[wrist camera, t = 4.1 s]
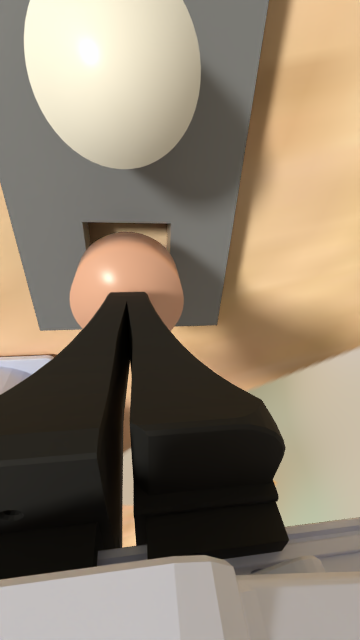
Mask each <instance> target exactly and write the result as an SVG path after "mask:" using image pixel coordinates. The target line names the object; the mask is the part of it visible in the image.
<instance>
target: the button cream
mask: <svg viewBox="0 0 360 640" xmlns="http://www.w3.org/2000/svg"><path fill="white" fill-rule="evenodd" d="M24 54H25V62H26V68H27V73H28V77H29V81H30V84H31V87H32V90H33V93H34V96H35V98H36V100H37V102H38V105H39V107H40V109H41V111H42V113H43V114H44V116H45V118H46V119H47V121H48V123H49V124H50V125H51V127H52V128H53V129H54V131H55V132H56V133H57V134H58V135H59V137H60V138H61V139H62V140H63V141H64V142H65V143H66V144H67V145H68V146H69V147H71V148H72V149H73V150H74V151H76V152H77V153H78V154H80V155H81V156H83V157H84V158H86V159H88V160H90V161H92V162H94V163H96V164H99V165H101V166H105V167H109V168H115V169H134V168H140V167H143V166H146V165H149V164H151V163H153V162H155V161H157V160H159V159H160V158H162V157H163V156H165V155H166V154H167V153H168V152H169V151H171V150H172V149H173V148H174V147H175V145H176V144H177V143H178V142H179V141H180V139H181V138H182V136H183V135H184V133H185V132H186V130H187V128H188V126H189V124H190V122H191V120H192V117H193V115H194V112H195V109H196V105H197V101H198V97H199V90H200V82H201V63H200V51H199V46H198V40H197V36H196V32H195V29H194V25H193V22H192V20H191V17H190V14H189V12H188V9H187V7H186V5H185V4H184V2H183V0H30V2H29V5H28V9H27V14H26V19H25V28H24Z"/></svg>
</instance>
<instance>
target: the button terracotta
mask: <svg viewBox="0 0 360 640" xmlns="http://www.w3.org/2000/svg"><path fill="white" fill-rule="evenodd" d="M110 292H146V293H147V294H148V297H149V299H150V301H151V303H152V305H153V307H154V309H155V310H156V312H157V314H158V315H159V317H160V318H161V319H162V321H163V322H164V324H165V325H166V326H167V328H168V329H169V330H170V331H171V330H172V328H173V327H174V326H175V325H176V323H177V322H178V320H179V318H180V316H181V313H182V310H183V305H184V296H183V290H182V286H181V283H180V279H179V275H178V271H177V268H176V265H175V262H174V260H173V258H172V256H171V255H170V253H169V252H168V251H167V250H166V248H165V247H164V246H162V245H161V244H160V243H159V242H157V241H156V240H154V239H152V238H150V237H148V236H146V235H143V234H139V233H134V232H118V233H113V234H109V235H106V236H104V237H102V238H100V239H98V240H97V241H95V242H94V243H93V244H92V245H90V246H89V247H88V249H87V250H86V251H85V252H84V254H83V256H82V257H81V260H80V262H79V265H78V268H77V271H76V274H75V277H74V280H73V283H72V286H71V290H70V307H71V310H72V313H73V316H74V318H75V319H76V321H77V323H78V324H79V325H80V326H81V328H82V329H83V328H84V327H85V326H86V325H87V324H88V323H89V321H90V320H91V319H92V317H93V316H94V315H95V313H96V312H97V311H98V309H99V308H100V306H101V305H102V303H103V302H104V300H105V299H106V297H107V295H108V294H109V293H110Z"/></svg>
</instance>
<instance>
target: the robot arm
mask: <svg viewBox="0 0 360 640" xmlns="http://www.w3.org/2000/svg"><path fill="white" fill-rule="evenodd" d="M130 363H131V372H132V386H131V407H130V435H131V450H132V465H133V478H134V479H133V480H134V519H135V533H136V546H132V547H124V548H122V485H123V484H122V483H123V482H122V481H123V480H122V479H123V473H122V472H123V420H124V408H125V399H126V391H127V382H128V374H129V365H130ZM284 452H285V445H284V440H283V438H282V436H281V434H280V431H279V429H278V427H277V425H276V423H275V421H274V420H273V418H272V416H271V414H270V413H269V411H268V409H267V408H266V406H265V405H264V403H263V401H262V400H261V399H259V398H257V397H255V396H253V395H251V394H250V393H248V392H246V391H244V390H242V389H240V388H239V387H237V386H235V385H233V384H231V383H230V382H228V381H227V380H225V379H224V378H222V377H221V376H219V375H218V374H216V373H215V372H213V371H212V370H211V369H209V368H208V367H207V366H205V365H204V364H203V363H202V362H200V361H199V360H198V359H197V358H195V357H194V356H193V355H192V354H191V353H190V352H189V351H188V350H187V349H186V348H185V347H184V346H183V345H182V344H181V343H180V342H179V341H178V340H177V339H176V338H175V336H174V335H173V334H172V333H171V332H170V330H169V329H168V328H167V326H166V325H165V324H164V322H163V321H162V319H161V318H160V317H159V315H158V314H157V312H156V310H155V309H154V307H153V305H152V303H151V301H150V299H149V297H148V294H147V293H146V292H110V293H109V294H108V295H107V297H106V299H105V300H104V302H103V303H102V305H101V306H100V308H99V309H98V311H97V312H96V313H95V315H94V316H93V317H92V319H91V320H90V321H89V323H88V324H87V325H86V326H85V327H84V328H83V330H82V331H81V332H80V333H79V334H78V335H77V336H76V337H75V338H74V339H73V341H72V342H71V343H70V344H69V345H67V346H66V347H65V348H64V349H63V350H62V351H61V352H60V353H59V354H58V355H57V356H55V357H53V356H51V355H39V356H15V357H0V640H360V517H359V518H352V519H343V520H335V521H327V522H319V523H312V524H305V525H296V526H288V527H284V524H283V521H282V518H281V515H280V513H279V510H278V507H277V504H276V501H278V493H277V490H276V487H275V485H274V482H273V478H274V475H275V473H276V471H277V469H278V467H279V464H280V463H281V461H282V458H283V456H284Z"/></svg>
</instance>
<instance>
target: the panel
mask: <svg viewBox="0 0 360 640" xmlns="http://www.w3.org/2000/svg"><path fill="white" fill-rule="evenodd" d="M29 2H30V0H0V183H1V187H2V190H3V194H4V198H5V202H6V205H7V209H8V213H9V216H10V220H11V224H12V228H13V231H14V235H15V239H16V242H17V246H18V250H19V254H20V257H21V261H22V265H23V268H24V272H25V276H26V280H27V283H28V287H29V291H30V294H31V298H32V302H33V306H34V309H35V313H36V317H37V321H38V324H39V328H40V331H43V330H75V329H82V328H81V326H80V325H79V324H78V323H77V321H76V319H75V318H74V316H73V313H72V310H71V307H70V290H71V286H72V283H73V280H74V277H75V274H76V271H77V268H78V265H79V262H80V260H81V257H82V256H83V254H84V252H85V251H86V250H87V249H88V247H89V246H90V245H91V244H90V235H89V227H88V222H111V223H167V251H168V252H169V253H170V255H171V256H172V258H173V260H174V262H175V265H176V268H177V271H178V275H179V279H180V283H181V286H182V290H183V296H184V305H183V310H182V313H181V316H180V318H179V320H178V322H177V323H176V325H175V326H204V325H217V322H218V316H219V310H220V303H221V297H222V291H223V285H224V278H225V272H226V266H227V260H228V253H229V247H230V241H231V235H232V228H233V222H234V216H235V210H236V203H237V197H238V191H239V185H240V178H241V172H242V166H243V159H244V153H245V147H246V141H247V134H248V128H249V122H250V116H251V109H252V103H253V97H254V91H255V84H256V78H257V72H258V66H259V59H260V53H261V47H262V41H263V34H264V28H265V22H266V16H267V9H268V3H269V0H183V2H184V4H185V5H186V7H187V9H188V12H189V14H190V17H191V20H192V22H193V25H194V29H195V32H196V36H197V40H198V46H199V51H200V63H201V82H200V90H199V97H198V101H197V105H196V109H195V112H194V115H193V117H192V120H191V122H190V124H189V126H188V128H187V130H186V132H185V133H184V135H183V136H182V138H181V139H180V141H179V142H178V143H177V144H176V145H175V147H174V148H173V149H172V150H171V151H169V152H168V153H167V154H166V155H165V156H163V157H162V158H160V159H159V160H157V161H155V162H153V163H151V164H149V165H146V166H143V167H140V168H134V169H115V168H109V167H105V166H101V165H99V164H96V163H94V162H92V161H90V160H88V159H86V158H84V157H83V156H81V155H80V154H78V153H77V152H76V151H74V150H73V149H72V148H71V147H69V146H68V145H67V144H66V143H65V142H64V141H63V140H62V139H61V138H60V137H59V135H58V134H57V133H56V132H55V131H54V129H53V128H52V127H51V125H50V124H49V123H48V121H47V119H46V118H45V116H44V114H43V113H42V111H41V109H40V107H39V105H38V102H37V100H36V98H35V96H34V93H33V90H32V87H31V84H30V81H29V77H28V73H27V68H26V62H25V54H24V28H25V19H26V14H27V9H28V5H29Z"/></svg>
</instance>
